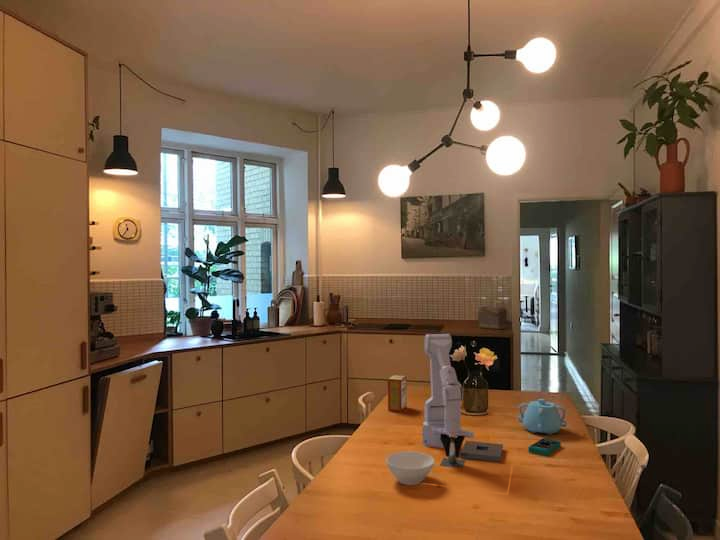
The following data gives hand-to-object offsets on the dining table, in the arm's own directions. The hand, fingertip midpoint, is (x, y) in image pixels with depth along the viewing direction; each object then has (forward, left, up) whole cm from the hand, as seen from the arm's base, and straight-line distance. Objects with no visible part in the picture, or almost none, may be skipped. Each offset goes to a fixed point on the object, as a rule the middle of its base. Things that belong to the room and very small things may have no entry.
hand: (452, 456), depth 193 cm
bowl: (-11, -19, -3) cm, 22 cm away
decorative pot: (+30, +51, -3) cm, 59 cm away
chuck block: (+9, +13, -3) cm, 16 cm away
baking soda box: (-38, +66, -3) cm, 76 cm away
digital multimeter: (+31, +27, -4) cm, 41 cm away
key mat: (0, 0, -3) cm, 3 cm away
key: (0, 0, -2) cm, 2 cm away
